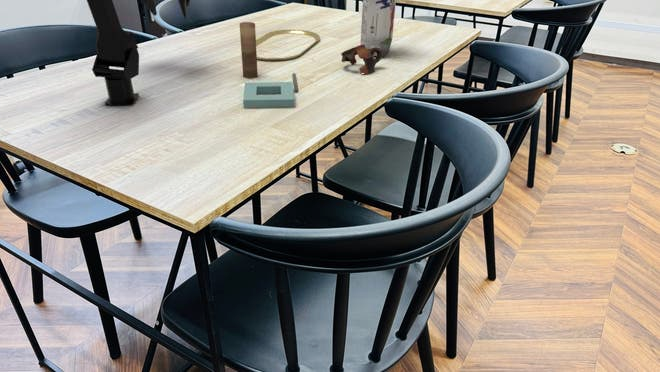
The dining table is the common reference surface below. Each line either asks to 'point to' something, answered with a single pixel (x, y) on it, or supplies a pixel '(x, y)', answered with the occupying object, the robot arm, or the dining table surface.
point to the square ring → (268, 100)
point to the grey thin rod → (295, 82)
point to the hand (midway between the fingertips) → (170, 16)
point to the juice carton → (377, 24)
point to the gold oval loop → (289, 31)
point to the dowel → (248, 49)
